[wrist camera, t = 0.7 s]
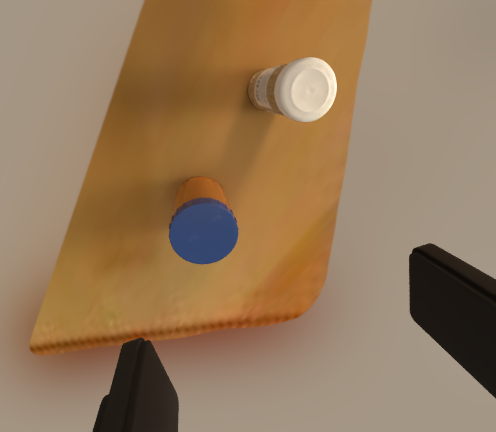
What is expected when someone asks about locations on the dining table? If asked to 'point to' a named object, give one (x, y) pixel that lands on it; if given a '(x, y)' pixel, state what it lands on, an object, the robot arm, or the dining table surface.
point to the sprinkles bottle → (295, 89)
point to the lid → (203, 231)
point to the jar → (199, 191)
